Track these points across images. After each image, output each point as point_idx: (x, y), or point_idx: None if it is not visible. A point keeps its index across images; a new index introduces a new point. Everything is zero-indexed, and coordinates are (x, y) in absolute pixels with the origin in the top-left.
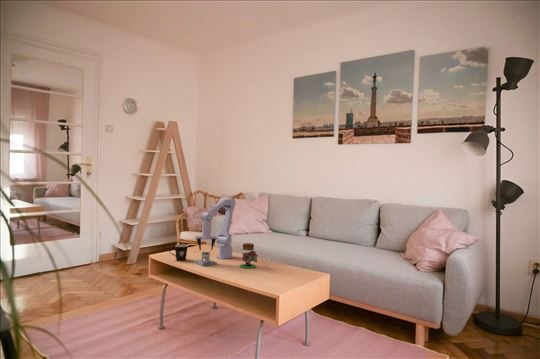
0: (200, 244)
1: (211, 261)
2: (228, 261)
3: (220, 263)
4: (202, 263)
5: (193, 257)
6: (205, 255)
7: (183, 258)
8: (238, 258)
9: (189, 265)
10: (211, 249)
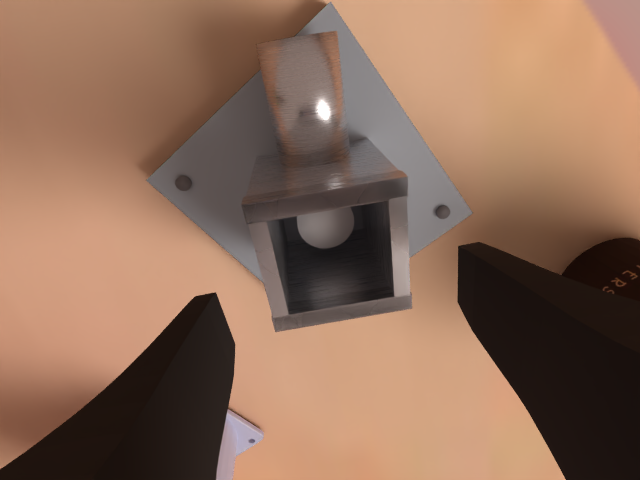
0: (572, 316)
1: (246, 230)
2: (69, 319)
3: (125, 219)
4: (346, 99)
5: (475, 381)
6: (323, 179)
7: (605, 264)
8: (23, 433)
9: (522, 41)
10: (203, 300)
